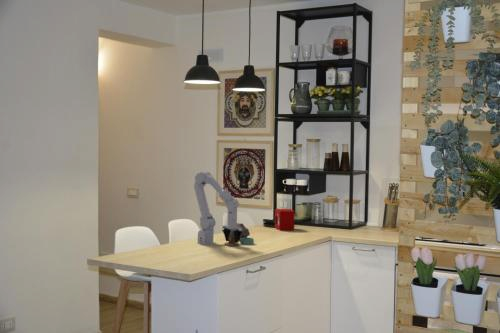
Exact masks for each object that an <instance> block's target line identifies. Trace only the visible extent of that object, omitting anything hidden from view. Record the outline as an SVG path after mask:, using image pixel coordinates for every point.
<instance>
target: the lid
mask: <svg viewBox="0 0 500 333" xmlns="http://www.w3.org/2000/svg"><path fill="white" fill-rule="evenodd" d="M239 244H240V242H237V243H235V236H231V237H229V241H226V242H224V245H226V246H225V247H230V246H235V247H240V246H239Z"/></svg>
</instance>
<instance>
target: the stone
mask: <svg viewBox="0 0 500 333" xmlns="http://www.w3.org/2000/svg"><path fill="white" fill-rule="evenodd" d="M237 227H242V233H241V235H240V237H239V241H240V238H249V237H248V236H250V234H251V233H250V231H249V229H248V228H247V227H246V226H245V225H244V223H238V222H237ZM233 231H236V230H231V231H230V237H231V236H234V232H233Z"/></svg>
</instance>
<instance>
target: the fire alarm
mask: <svg viewBox="0 0 500 333" xmlns="http://www.w3.org/2000/svg"><path fill="white" fill-rule="evenodd" d="M274 228H275V229H277V230H278V231H279V232H280V231H281V232H284V231H294V230H295V211H294V209H292V208H275V209H274Z"/></svg>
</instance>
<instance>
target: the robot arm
mask: <svg viewBox="0 0 500 333" xmlns="http://www.w3.org/2000/svg"><path fill="white" fill-rule="evenodd" d="M194 178H195V179H194V184H193V185H194V189H193V190H194V192H195V196H196V200H197V204H198V208H199V212H200V217H199V226H200V228H201V230H198V232H197V245H198V244H199V245H205V246H207V245H213V244H214V245H215V244H216V242H215V241H214V227H215V226H216V220H215V218H214V217H213V214H212V213H211V212H210V209H209V204H208V201H207V197H206V193H205V189H204V187H205V186H206V184H208V185H210V186H212V188H213V189H214V190H215V191H216V192H217V193H218V197H219V198H220V199H221V200H222V202H224V204H225V207H226V209H227V220H226V222H227V225H225V224H224V225H222V229H221V230H222V233H223V235H224V239H225V242H229V237H230V231H231V230H236V231H233V232H234V236H235V243H239V242H240V240H239V237H240V235H241V233H242V227H237V223H238V207H239V204H240V203H239V201H238V199H237V198H235V197H234V196H232V195H231V194H230V191H229V190H227V189H224V188H222V186H221V185H220V184H219V183H218V181H217V180H216V179H215V177H214V175H213V174H211V172H210V171H199V172H197V173H196V174H195V176H194Z"/></svg>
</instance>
